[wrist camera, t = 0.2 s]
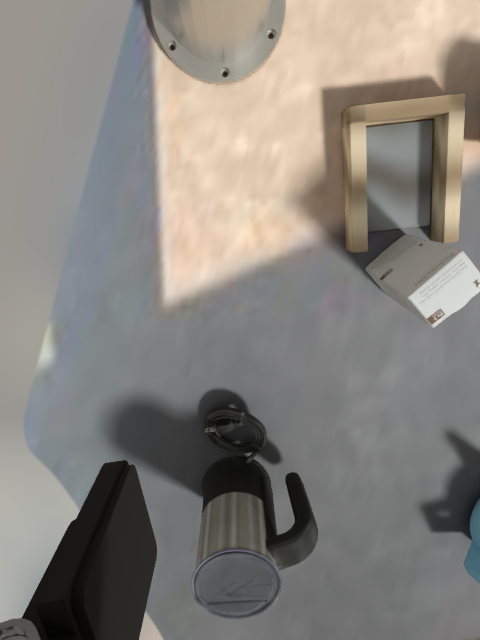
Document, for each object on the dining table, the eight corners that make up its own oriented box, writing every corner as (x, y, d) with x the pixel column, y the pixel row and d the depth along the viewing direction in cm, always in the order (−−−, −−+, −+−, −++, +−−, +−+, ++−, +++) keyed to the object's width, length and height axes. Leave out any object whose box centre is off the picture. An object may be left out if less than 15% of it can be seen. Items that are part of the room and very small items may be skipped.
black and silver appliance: (231, 524, 56) (230, 635, 42) (153, 450, 52) (124, 543, 38) (313, 468, 54) (341, 565, 40) (237, 386, 50) (239, 460, 36)
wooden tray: (341, 112, 41) (350, 106, 38) (449, 100, 41) (465, 92, 38) (346, 249, 45) (353, 252, 42) (443, 238, 45) (458, 241, 42)
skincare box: (404, 232, 45) (464, 244, 33) (427, 261, 46) (493, 282, 34) (361, 270, 46) (404, 294, 34) (385, 297, 47) (435, 330, 35)
